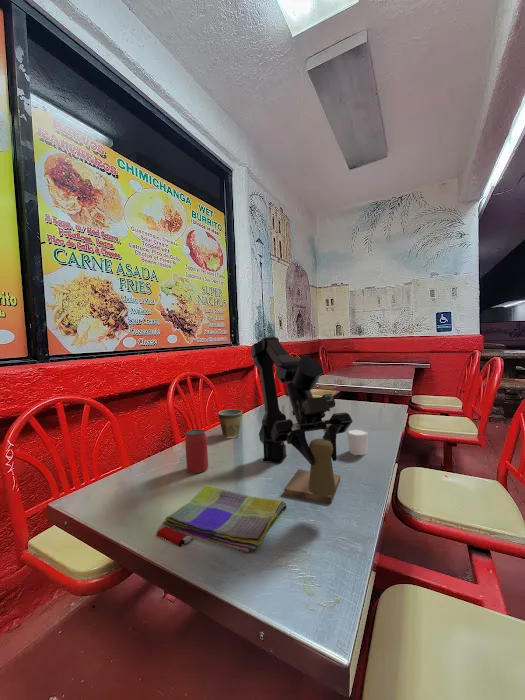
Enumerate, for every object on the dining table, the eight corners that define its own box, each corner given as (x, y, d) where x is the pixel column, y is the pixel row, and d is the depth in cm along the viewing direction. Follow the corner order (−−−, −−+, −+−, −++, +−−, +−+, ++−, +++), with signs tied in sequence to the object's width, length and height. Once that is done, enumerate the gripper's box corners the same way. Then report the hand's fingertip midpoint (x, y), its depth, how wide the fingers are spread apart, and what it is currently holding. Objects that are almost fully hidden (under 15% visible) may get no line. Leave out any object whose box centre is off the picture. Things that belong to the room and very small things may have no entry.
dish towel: (208, 490, 83) (207, 480, 83) (291, 509, 72) (290, 498, 72) (160, 527, 67) (159, 515, 67) (256, 559, 56) (256, 545, 56)
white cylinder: (346, 455, 101) (345, 434, 100) (348, 447, 107) (348, 428, 107) (368, 457, 98) (367, 436, 98) (369, 449, 104) (368, 429, 104)
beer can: (212, 468, 95) (210, 431, 95) (194, 476, 90) (192, 436, 90) (200, 463, 100) (198, 427, 99) (182, 470, 95) (180, 432, 94)
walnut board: (284, 494, 78) (284, 488, 77) (298, 474, 88) (298, 469, 88) (331, 503, 73) (330, 497, 72) (340, 480, 83) (340, 475, 83)
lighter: (167, 524, 66) (193, 536, 62) (167, 530, 66) (193, 542, 62) (156, 532, 64) (182, 544, 59) (156, 537, 64) (183, 550, 59)
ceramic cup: (242, 439, 121) (241, 414, 121) (217, 440, 122) (216, 415, 121) (244, 429, 134) (243, 407, 134) (222, 430, 134) (221, 408, 134)
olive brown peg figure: (336, 497, 64) (335, 446, 63) (307, 495, 65) (306, 445, 64) (335, 482, 69) (334, 436, 69) (309, 481, 71) (307, 435, 70)
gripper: (272, 385, 67) (292, 453, 57) (347, 379, 72) (377, 439, 62) (264, 412, 75) (280, 474, 65) (332, 404, 80) (356, 461, 70)
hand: (324, 462), depth 65 cm, fingers closed on olive brown peg figure, 5 cm apart
